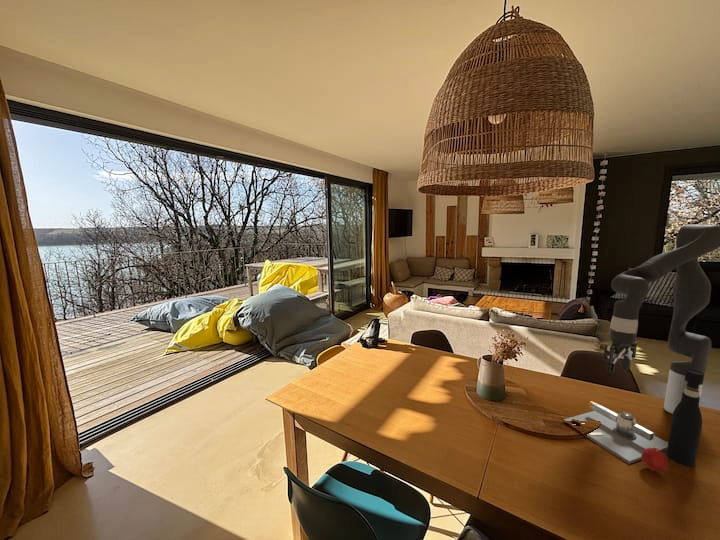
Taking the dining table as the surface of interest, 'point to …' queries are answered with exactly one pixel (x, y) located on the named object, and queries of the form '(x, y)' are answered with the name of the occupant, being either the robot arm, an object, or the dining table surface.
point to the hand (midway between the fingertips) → (617, 370)
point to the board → (618, 438)
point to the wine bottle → (686, 422)
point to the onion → (654, 459)
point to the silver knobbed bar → (623, 422)
